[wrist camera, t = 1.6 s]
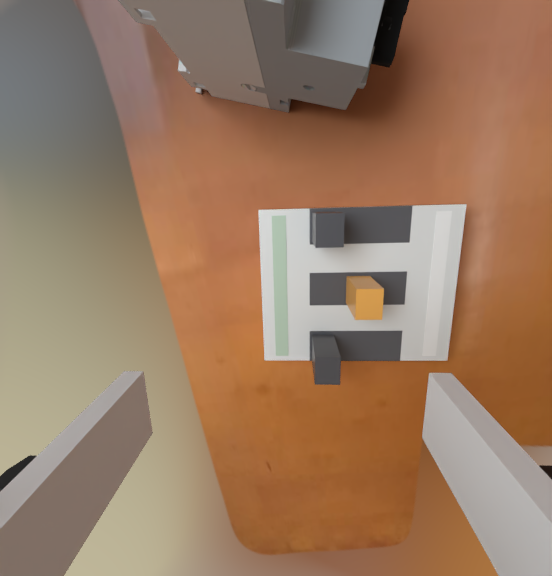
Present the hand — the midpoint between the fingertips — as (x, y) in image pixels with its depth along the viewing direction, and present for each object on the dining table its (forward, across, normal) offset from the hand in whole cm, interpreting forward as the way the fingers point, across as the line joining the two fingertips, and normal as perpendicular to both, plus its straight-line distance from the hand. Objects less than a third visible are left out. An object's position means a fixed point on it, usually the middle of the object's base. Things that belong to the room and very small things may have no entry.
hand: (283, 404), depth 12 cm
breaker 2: (+17, -3, +6) cm, 18 cm away
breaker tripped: (+17, -6, 0) cm, 18 cm away
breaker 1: (+17, -3, -5) cm, 18 cm away
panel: (+20, -6, 0) cm, 21 cm away
